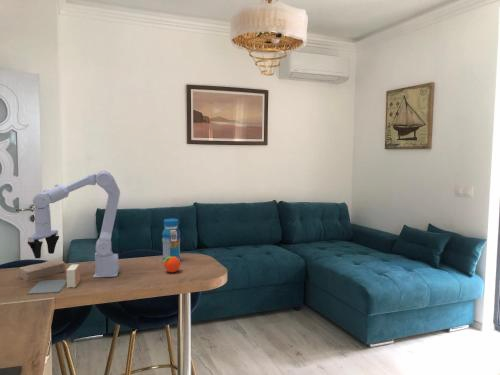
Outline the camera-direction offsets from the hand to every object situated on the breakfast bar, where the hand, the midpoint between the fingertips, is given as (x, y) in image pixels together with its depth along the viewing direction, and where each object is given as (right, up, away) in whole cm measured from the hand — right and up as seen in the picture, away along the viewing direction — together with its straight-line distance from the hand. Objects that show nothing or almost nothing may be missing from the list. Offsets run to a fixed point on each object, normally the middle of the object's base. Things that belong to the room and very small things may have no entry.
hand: (44, 255), depth 170 cm
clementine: (+49, -9, +12) cm, 52 cm away
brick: (-5, -10, +8) cm, 14 cm away
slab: (+14, -11, -4) cm, 18 cm away
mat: (+6, -11, -8) cm, 15 cm away
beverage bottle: (+46, -8, +31) cm, 56 cm away
